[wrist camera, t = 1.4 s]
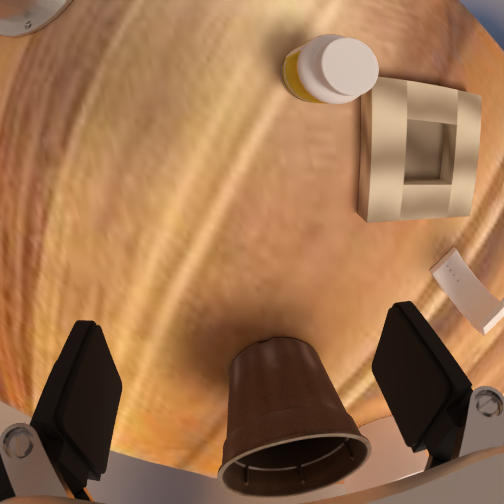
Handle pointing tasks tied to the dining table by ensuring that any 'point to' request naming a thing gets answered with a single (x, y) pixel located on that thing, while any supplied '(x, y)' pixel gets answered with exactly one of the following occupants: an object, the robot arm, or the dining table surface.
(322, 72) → the supplement bottle
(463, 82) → the dining table surface
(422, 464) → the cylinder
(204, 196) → the dining table surface
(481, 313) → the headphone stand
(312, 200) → the dining table surface
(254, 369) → the plant pot
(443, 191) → the socket block
